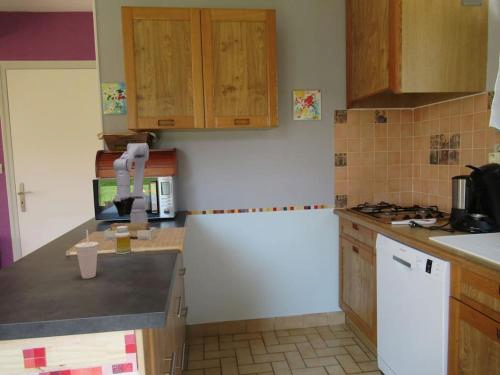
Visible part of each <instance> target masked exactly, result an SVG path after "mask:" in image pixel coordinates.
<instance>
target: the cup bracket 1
mask: <svg viewBox="0 0 500 375" xmlns="http://www.w3.org/2000/svg"><path fill="white" fill-rule="evenodd" d="M116 233H117V231H111V227H110V228H108V229H106V230H104V231H103V237H104V238H103V239H104V241H115V234H116Z"/></svg>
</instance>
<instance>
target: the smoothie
mask: <svg viewBox="0 0 500 375" xmlns="http://www.w3.org/2000/svg"><path fill="white" fill-rule="evenodd" d="M85 232H86V234H85V235H86V242H81V243H78V244H75V245H74V250H75V251H76V254H77V260H78V265H79V269H80V275H81V278H82V279H85V280H86V279H92V278H95V277H96V275H97V273H96V272H97V263H98V262H97V261H98V252H99V251H98V248H99V247H100V246H99V244H100V243H99V242H96V241H90V238H89V237H90V236H89V229H86V230H85Z"/></svg>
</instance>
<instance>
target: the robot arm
mask: <svg viewBox="0 0 500 375" xmlns="http://www.w3.org/2000/svg"><path fill="white" fill-rule="evenodd" d="M149 154H150V148H149V145H148V143H147V142H144V143H143V142H142V143H140V142H139V143H131V142H129V143H128V144H127V146H126V151H124V152H123V153H122V155H121V156H120V157H119V158H116V159H115V160H114V161H113V170H114V175H115V177H116V179H115V180H116V193H117V194H115V195H114V200H113V201H112V202H113V203H112V204H113V205H114V206H115V208H116V210H117V215H118V217H119V218H120V217H121V218H122V217H125V215H130V223H149V222H148V221H149V220H148V213H147V212H146V211H147V210H148V209H149V197H148V195H147V194H146V193H144V181H145V180H144V179H145V168H146V167H145V166H146V162H147V161H149V159H150V158H149V157H150V156H149ZM133 163H134V173H133V175H134V176H133V187H132V192H131V177H130V176H131V174H130V172H131V171H132V165H133Z"/></svg>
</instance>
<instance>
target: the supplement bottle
mask: <svg viewBox="0 0 500 375" xmlns="http://www.w3.org/2000/svg"><path fill="white" fill-rule="evenodd" d="M127 230H128V227H127V226H119V227H116V231H117V233H116V234H115V240H114V249H115V254H116V255H126V254H129V253H131V252H132V250H131V236H130V233H129V232H127Z"/></svg>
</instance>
